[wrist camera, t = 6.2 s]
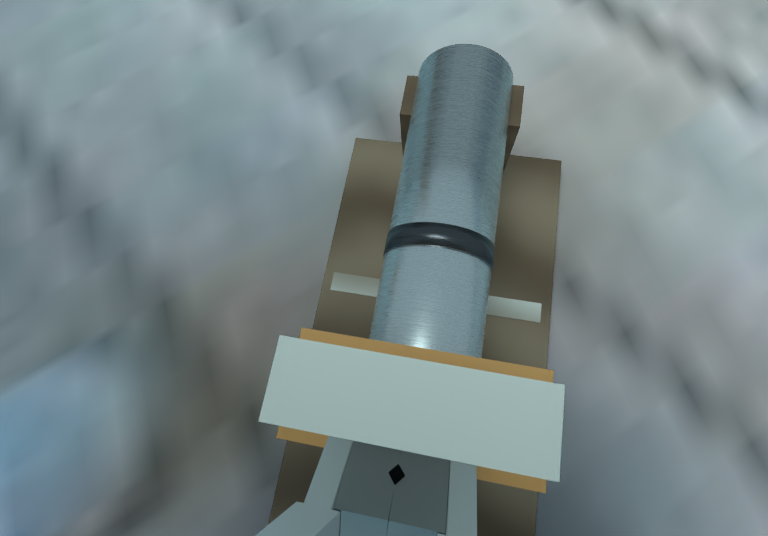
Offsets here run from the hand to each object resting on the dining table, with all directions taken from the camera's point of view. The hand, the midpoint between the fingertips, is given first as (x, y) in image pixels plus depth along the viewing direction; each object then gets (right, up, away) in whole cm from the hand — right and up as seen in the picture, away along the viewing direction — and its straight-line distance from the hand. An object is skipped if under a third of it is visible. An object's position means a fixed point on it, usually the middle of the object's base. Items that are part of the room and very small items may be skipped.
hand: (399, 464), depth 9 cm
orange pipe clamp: (+1, -2, +9) cm, 9 cm away
